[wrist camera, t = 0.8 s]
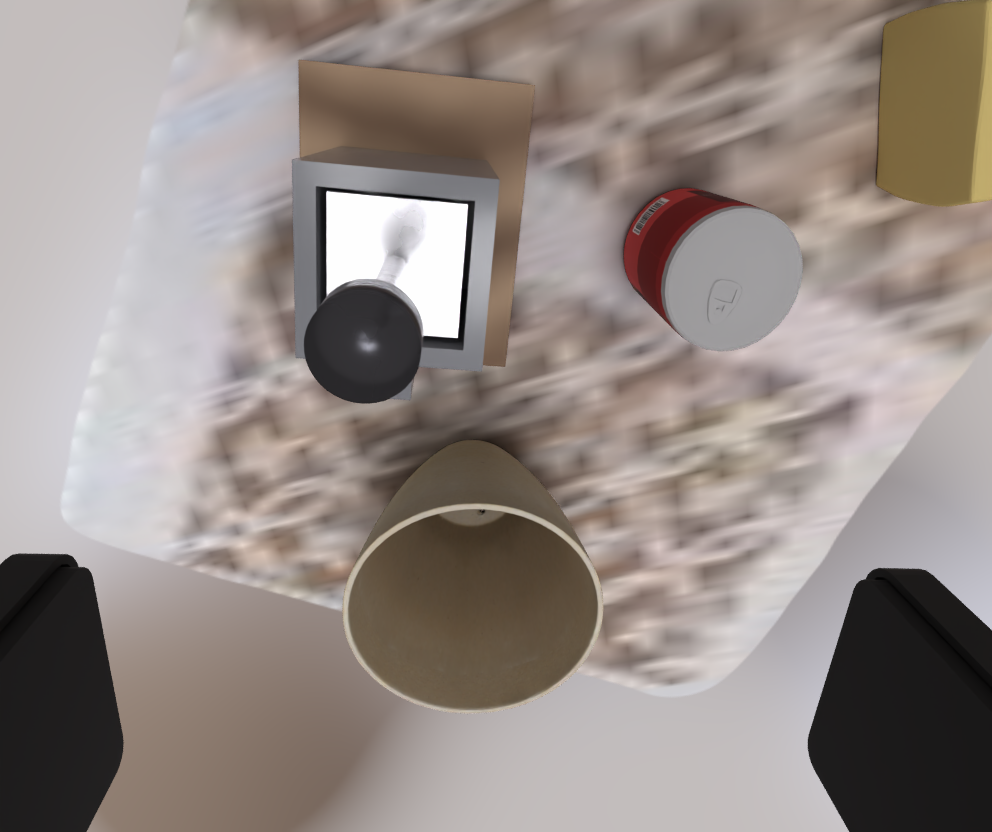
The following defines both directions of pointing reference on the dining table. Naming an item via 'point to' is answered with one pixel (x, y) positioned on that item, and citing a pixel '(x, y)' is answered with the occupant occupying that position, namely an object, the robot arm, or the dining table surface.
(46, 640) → the robot arm
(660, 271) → the canned food
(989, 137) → the cheese
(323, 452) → the dining table surface
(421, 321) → the plunger
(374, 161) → the grey boxy piece
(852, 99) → the dining table surface
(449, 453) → the plant pot
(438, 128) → the board
